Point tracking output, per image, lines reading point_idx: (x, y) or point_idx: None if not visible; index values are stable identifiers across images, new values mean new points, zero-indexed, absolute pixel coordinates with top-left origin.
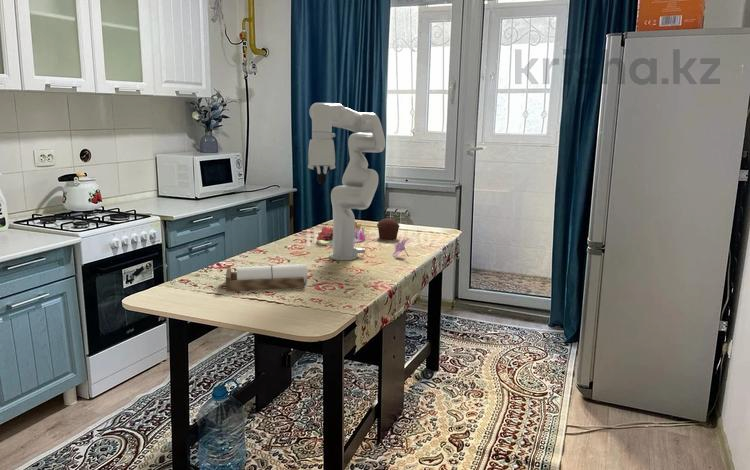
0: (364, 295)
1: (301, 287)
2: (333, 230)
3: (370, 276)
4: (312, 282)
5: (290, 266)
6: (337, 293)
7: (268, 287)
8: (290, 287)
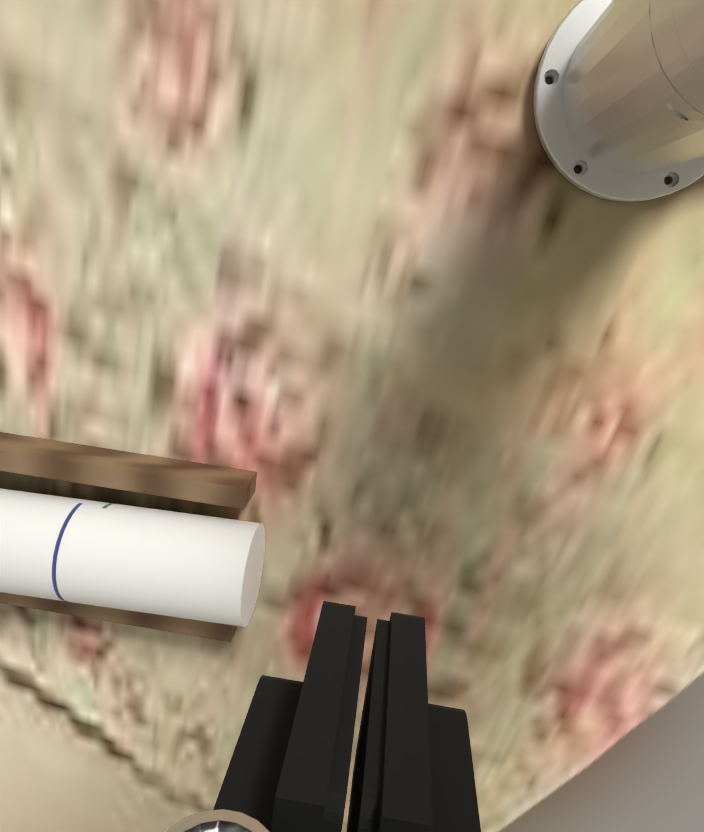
0: None
1: None
2: (622, 31)
3: (622, 547)
4: (297, 553)
5: (155, 602)
6: None
7: None
8: None
